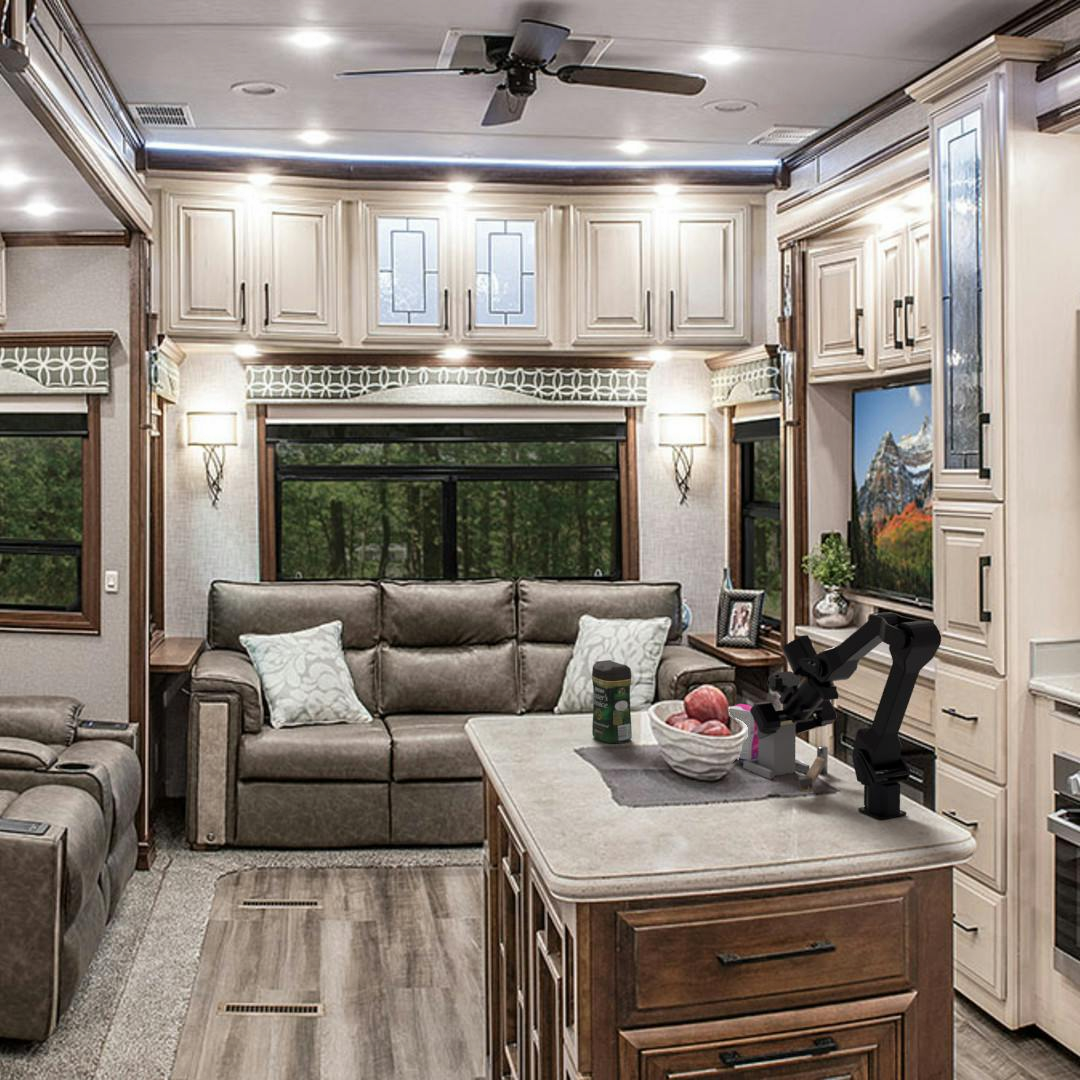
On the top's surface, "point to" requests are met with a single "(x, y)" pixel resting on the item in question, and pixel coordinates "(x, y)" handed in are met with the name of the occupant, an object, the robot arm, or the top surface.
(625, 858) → the top surface
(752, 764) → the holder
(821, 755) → the hinge post
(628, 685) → the coffee jar
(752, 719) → the supplement box
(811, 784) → the bar
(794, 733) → the plug block
